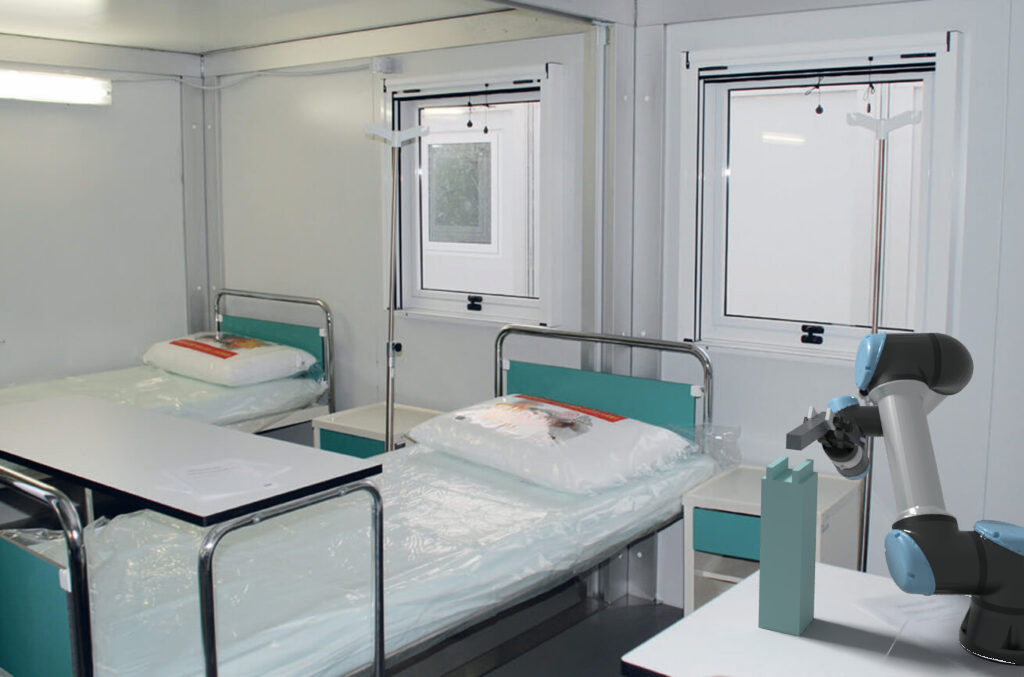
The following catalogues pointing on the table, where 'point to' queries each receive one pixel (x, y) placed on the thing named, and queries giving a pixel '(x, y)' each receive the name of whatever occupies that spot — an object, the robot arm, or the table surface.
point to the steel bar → (807, 432)
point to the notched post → (787, 546)
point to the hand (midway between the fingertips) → (819, 413)
